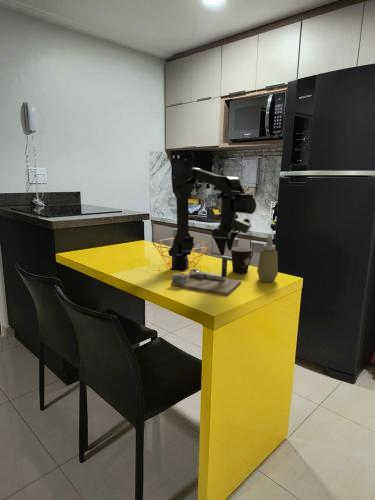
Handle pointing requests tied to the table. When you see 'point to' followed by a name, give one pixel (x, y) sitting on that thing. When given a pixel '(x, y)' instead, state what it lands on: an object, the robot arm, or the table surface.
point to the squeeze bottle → (268, 262)
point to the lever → (203, 275)
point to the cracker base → (205, 284)
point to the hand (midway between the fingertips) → (226, 252)
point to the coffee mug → (241, 259)
